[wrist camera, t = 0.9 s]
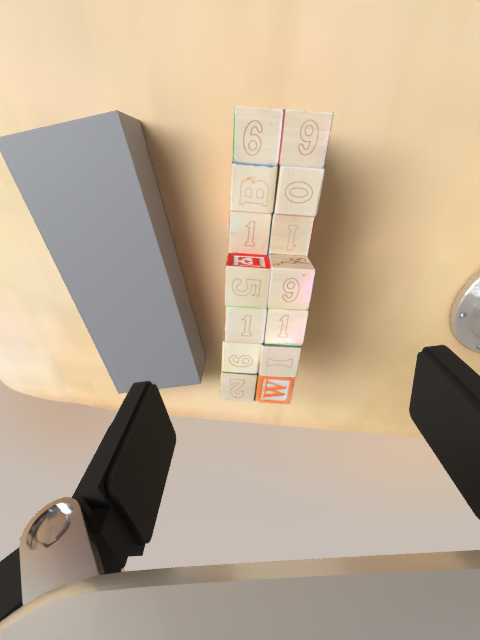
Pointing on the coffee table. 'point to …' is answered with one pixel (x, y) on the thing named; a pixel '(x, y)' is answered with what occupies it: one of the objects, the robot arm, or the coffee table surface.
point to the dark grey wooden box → (111, 244)
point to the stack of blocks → (270, 248)
